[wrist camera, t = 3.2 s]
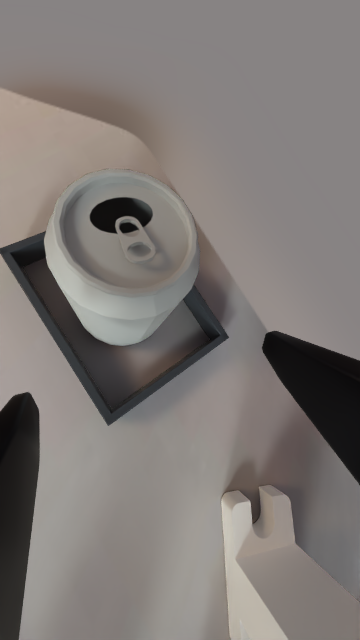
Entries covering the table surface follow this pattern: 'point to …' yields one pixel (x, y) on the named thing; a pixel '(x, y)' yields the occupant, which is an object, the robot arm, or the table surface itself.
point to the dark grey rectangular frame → (35, 251)
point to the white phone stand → (279, 577)
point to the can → (122, 253)
